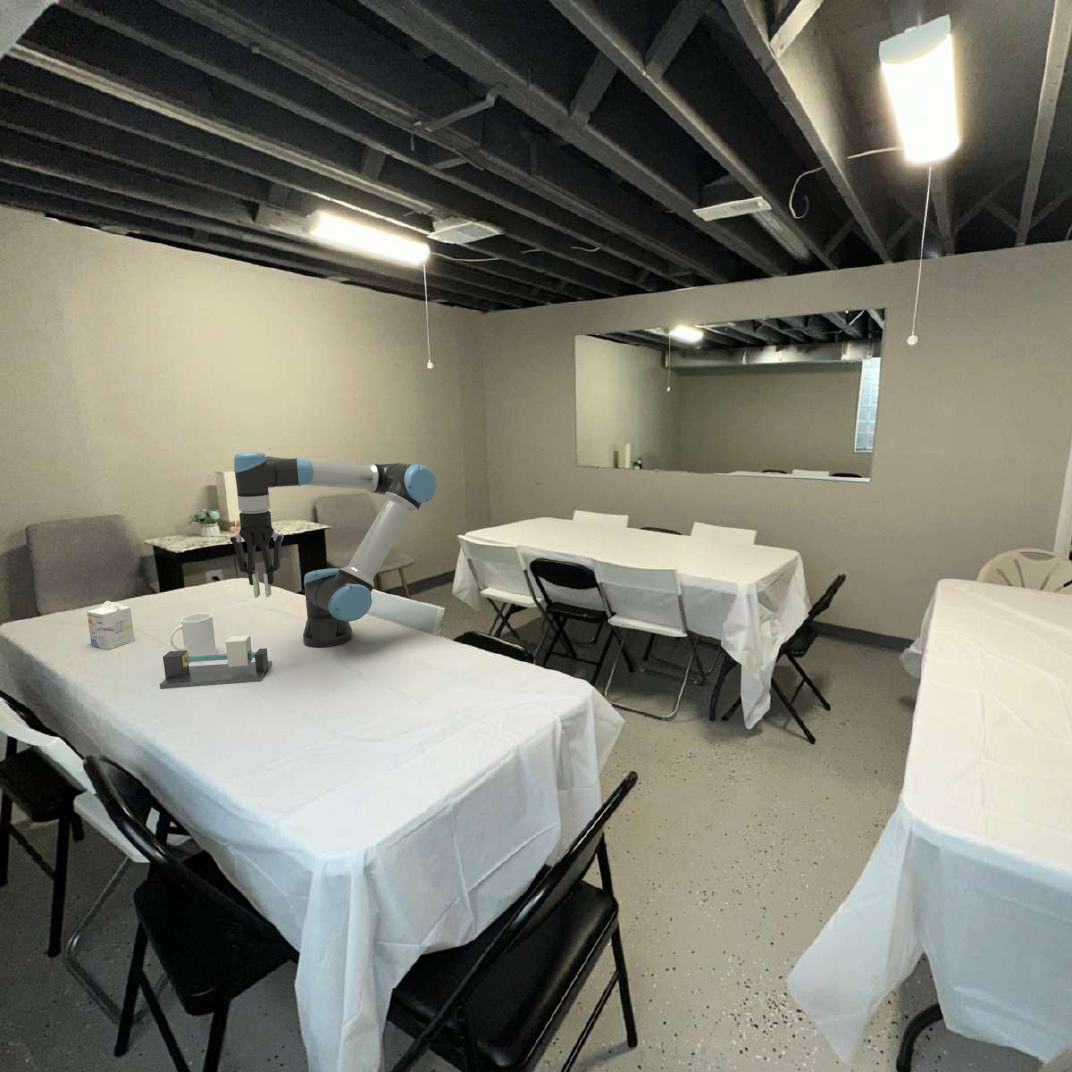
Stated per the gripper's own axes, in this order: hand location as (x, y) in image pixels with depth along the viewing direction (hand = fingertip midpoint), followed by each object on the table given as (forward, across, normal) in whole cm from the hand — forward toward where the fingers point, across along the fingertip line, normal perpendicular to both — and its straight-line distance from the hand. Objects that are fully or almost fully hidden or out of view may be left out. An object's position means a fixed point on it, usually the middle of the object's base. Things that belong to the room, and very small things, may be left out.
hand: (263, 595), depth 156 cm
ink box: (+23, +56, -32) cm, 68 cm away
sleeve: (+19, +7, 0) cm, 21 cm away
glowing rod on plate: (+22, +14, 0) cm, 26 cm away
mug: (+23, +26, -16) cm, 38 cm away
